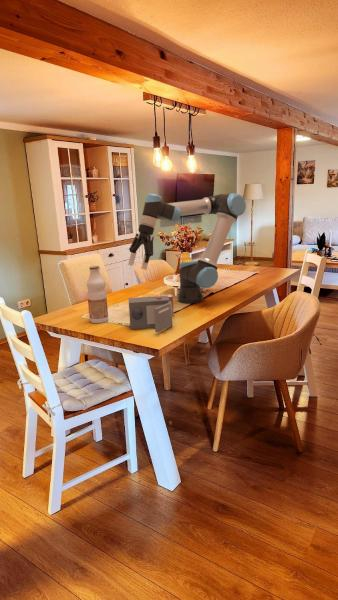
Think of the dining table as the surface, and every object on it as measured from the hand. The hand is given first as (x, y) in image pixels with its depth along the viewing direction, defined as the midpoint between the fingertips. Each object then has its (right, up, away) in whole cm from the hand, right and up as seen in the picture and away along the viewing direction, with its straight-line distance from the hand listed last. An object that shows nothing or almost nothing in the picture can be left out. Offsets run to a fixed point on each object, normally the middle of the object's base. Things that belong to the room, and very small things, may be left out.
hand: (136, 267), depth 199 cm
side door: (+14, -30, -16) cm, 37 cm away
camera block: (+7, -29, -7) cm, 30 cm away
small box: (+14, -25, +8) cm, 30 cm away
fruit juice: (-19, -27, +4) cm, 34 cm away
